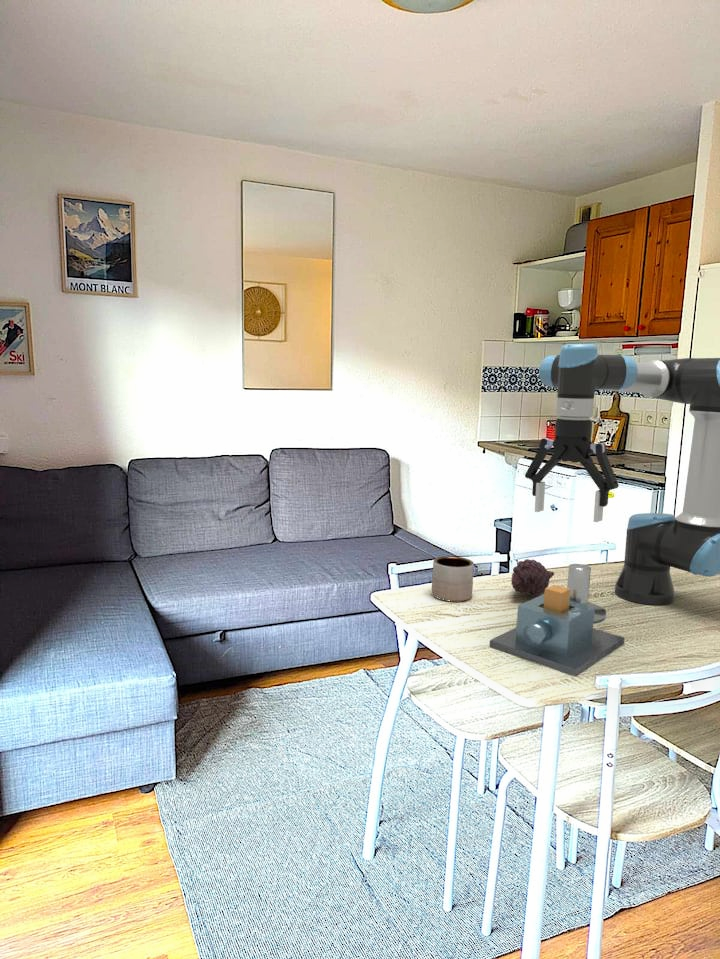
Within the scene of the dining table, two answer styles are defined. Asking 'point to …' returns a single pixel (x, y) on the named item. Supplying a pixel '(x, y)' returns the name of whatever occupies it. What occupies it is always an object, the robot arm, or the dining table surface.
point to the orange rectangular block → (557, 598)
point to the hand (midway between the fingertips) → (567, 516)
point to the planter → (452, 578)
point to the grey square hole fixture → (561, 630)
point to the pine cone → (530, 577)
